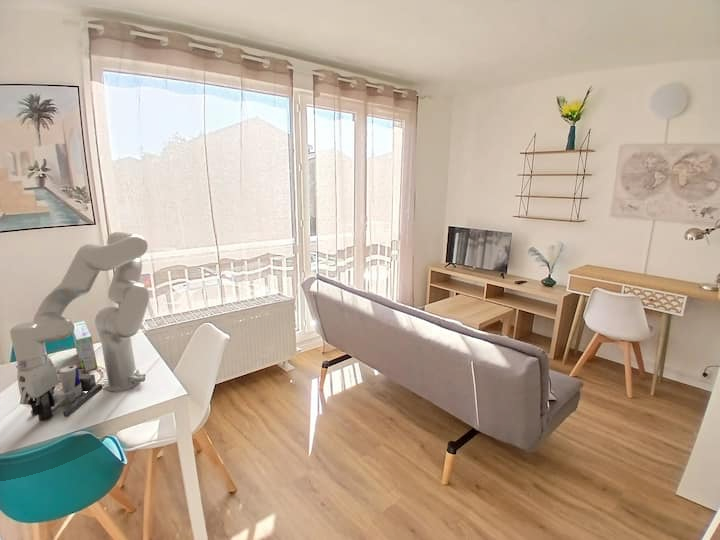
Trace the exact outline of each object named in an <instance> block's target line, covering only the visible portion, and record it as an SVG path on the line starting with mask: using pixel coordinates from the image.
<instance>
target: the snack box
mask: <svg viewBox="0 0 720 540" xmlns="http://www.w3.org/2000/svg"><path fill="white" fill-rule="evenodd" d="M73 324H74V327H75V328H74V332H73V333H72V334H71V335H72V339H73V341H74V347H75V351H76V353H77V357H78V360H79V363H80V367H81V369H82V372H83V373H85V372H89V371H92V370H95V369H98V368H99V367H98V363H97V358H96V353H95V347H94V344H93V339H92V338H93V337H92V335H91V332H90V331H89V329H88V327H87V325H86V323H85V321H84V320H82V321H79V322H73Z"/></svg>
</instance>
